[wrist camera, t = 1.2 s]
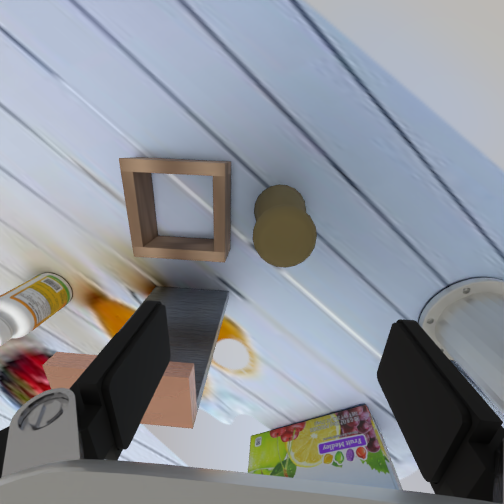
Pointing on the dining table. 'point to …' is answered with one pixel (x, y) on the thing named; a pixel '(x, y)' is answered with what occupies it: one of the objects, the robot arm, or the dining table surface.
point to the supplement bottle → (31, 305)
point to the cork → (283, 227)
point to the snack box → (327, 451)
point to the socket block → (144, 215)
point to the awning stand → (181, 361)
